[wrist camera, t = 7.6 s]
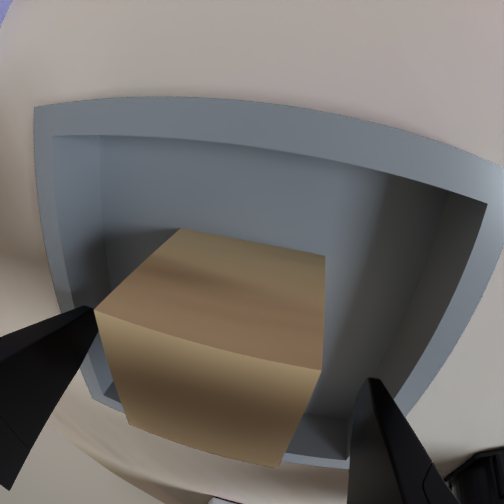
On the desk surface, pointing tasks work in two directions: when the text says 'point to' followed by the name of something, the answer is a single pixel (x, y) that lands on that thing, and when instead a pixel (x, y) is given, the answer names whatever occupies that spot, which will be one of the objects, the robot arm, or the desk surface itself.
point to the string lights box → (219, 501)
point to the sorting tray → (279, 228)
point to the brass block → (218, 343)
